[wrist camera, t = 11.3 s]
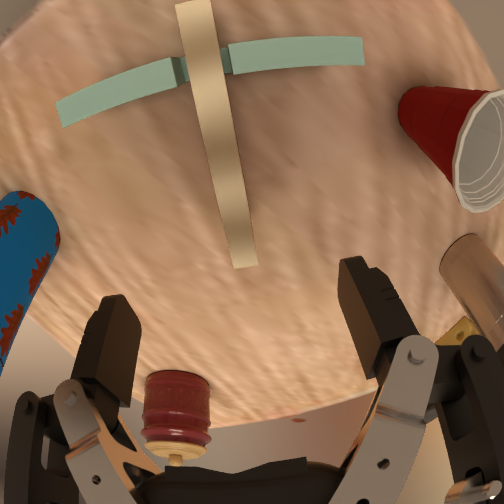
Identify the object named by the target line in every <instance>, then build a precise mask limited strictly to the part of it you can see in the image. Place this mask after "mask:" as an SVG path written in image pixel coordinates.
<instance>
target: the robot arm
mask: <svg viewBox="0 0 504 504" xmlns="http://www.w3.org/2000/svg"><path fill="white" fill-rule="evenodd" d="M440 274H441V276H442V277H443V279H444V280H445V281H446V283H447V284H448V286H449V287H450V289H451V290H452V292H453V293H454V295H455V296H456V298H457V299H458V301H459V302H460V304H461V306H462V307H463V309H464V310H465V312H466V313H467V315H468V317H469V318H470V320H471V322H472V323H473V325H474V327H475V328H476V330H477V332H478V333H479V335H477V334H475V335H470V336H468V337H467V338H465V340H464V341H463V342H462V344H461V345H436V344H434V343H433V342H432V341H431V340H430V339H428V338H426V337H424V336H421V335H420V334H419V332H418V331H417V329H416V327H415V325H414V323H413V321H412V319H411V317H410V315H409V314H408V312H407V310H406V308H405V306H404V304H403V302H402V301H401V299H400V298H399V295H398V293H397V292H396V290H395V289H394V286H393V285H392V283H391V281H390V279H389V278H388V276H387V275H386V274H385V273H383V272H382V271H381V270H380V269H378V268H377V267H375V268H370V269H369V267H368V266H367V264H366V262H365V260H364V259H363V257H362V256H355V257H350V258H344V259H341V260H340V263H339V277H338V299H339V303H340V306H341V309H342V312H343V314H344V317H345V320H346V322H347V325H348V328H349V330H350V333H351V336H352V339H353V342H354V344H355V347H356V350H357V353H358V356H359V359H360V361H361V364H362V367H363V370H364V373H365V376H366V379H367V380H368V379H371V378H375V377H376V379H377V382H378V385H379V386H378V388H377V390H376V393H375V396H374V398H373V401H372V403H371V405H370V408H369V410H368V412H367V414H366V417H365V419H364V421H363V423H362V426H361V428H360V430H359V432H358V434H357V436H356V438H355V440H354V441H353V443H352V445H351V447H350V448H349V450H348V453H347V454H346V456H345V458H344V460H343V462H342V464H341V465H340V467H339V468H338V467H335V466H332V465H329V464H325V463H321V462H312V461H307V459H306V457H301V458H296V459H289V460H283V461H276V462H269V463H266V464H263V465H261V466H258V467H255V468H252V469H249V470H245V471H243V472H239V473H235V474H229V473H224V472H219V471H214V470H209V469H204V468H200V467H181V466H165V472H161V470H160V469H159V468H158V467H157V466H156V465H155V463H154V462H153V461H152V460H150V459H149V458H148V457H147V456H146V455H145V454H144V453H143V451H142V450H141V448H140V447H139V445H138V444H137V442H136V441H135V439H134V438H133V436H132V434H131V433H130V431H129V429H128V428H127V426H126V424H125V423H124V421H123V419H122V417H121V416H120V415H119V414H118V412H119V407H127V408H129V407H130V402H131V395H132V388H133V381H134V374H135V368H136V362H137V356H138V350H139V345H140V339H141V333H142V329H141V324H140V321H139V319H138V317H137V316H136V314H135V312H134V311H133V309H132V308H131V306H130V304H129V303H128V301H127V300H126V298H125V296H124V295H122V294H118V295H111V296H105V297H103V298H102V300H101V303H100V306H99V309H98V311H95V312H94V313H93V315H92V316H91V318H90V319H89V320H88V322H87V325H86V328H85V331H84V335H83V337H82V340H81V344H80V347H79V350H78V353H77V357H76V360H75V364H74V367H73V371H72V374H71V378H70V379H68V380H65V381H63V382H62V383H61V384H60V385H59V386H58V387H57V388H56V390H55V393H54V394H52V395H49V396H46V397H42V398H39V397H38V396H37V395H36V394H35V393H33V392H31V391H27V392H25V393H23V394H22V395H21V396H20V397H19V399H18V400H17V403H16V406H15V411H14V416H13V421H12V427H11V432H10V438H9V446H8V452H7V461H6V471H5V487H4V504H79V490H80V492H81V494H82V496H83V497H84V499H85V501H86V503H87V504H395V503H396V501H397V499H398V497H399V495H400V492H401V491H402V488H403V486H404V484H405V482H406V480H407V477H408V475H409V473H410V470H411V468H412V466H413V463H414V461H415V458H416V456H417V453H418V450H419V448H420V445H421V442H422V439H423V436H424V433H425V428H426V423H425V422H424V415H425V411H426V408H427V405H428V403H434V405H435V409H436V412H437V415H438V418H439V422H440V425H441V429H442V433H443V436H444V440H445V444H446V448H447V452H448V456H449V461H450V465H451V469H452V475H453V480H454V485H453V486H452V487H451V488H450V489H449V491H448V493H447V494H446V497H445V502H444V504H504V266H503V264H502V263H501V262H500V261H499V260H498V258H497V257H496V256H495V255H494V254H493V253H492V251H491V250H490V249H489V248H488V247H487V246H486V245H485V243H484V242H483V241H482V240H481V239H480V238H479V237H478V236H477V235H475V234H469V235H466V236H464V237H462V238H460V239H459V240H458V241H456V242H455V243H454V244H453V245H452V246H451V247H450V248H449V250H448V251H447V253H446V254H445V256H444V258H443V259H442V262H441V265H440ZM43 436H45V437H47V438H48V439H50V444H49V453H48V465H47V469H46V470H45V469H44V468H43V466H42V464H41V452H42V444H43Z"/></svg>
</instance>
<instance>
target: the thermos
mask: <svg viewBox="0 0 504 504" xmlns="http://www.w3.org/2000/svg"><path fill="white" fill-rule="evenodd" d="M59 243H60V234H59V227H58V225H57V223H56V221H55V218H54V216H53V214H52V213H51V211H50V210H49V209H48V208H47V206H46V205H45V204H44V203H43V202H42V201H41V200H39V199H38V198H37V197H35V196H34V195H33V194H30V193H26V192H23V191H16V192H11V193H9V194H8V195H7V196H6V197H4V198H3V199H2V200H1V201H0V376H1V373H2V370H3V367H4V364H5V362H6V359H7V356H8V354H9V351H10V349H11V346H12V344H13V341H14V339H15V336H16V334H17V332H18V329H19V327H20V325H21V322H22V320H23V318H24V316H25V314H26V312H27V310H28V308H29V306H30V303H31V301H32V299H33V297H34V295H35V294H36V292H37V290H38V288H39V286H40V284H41V282H42V280H43V278H44V277H45V275H46V273H47V271H48V269H49V267H50V265H51V263H52V261H53V259H54V257H55V255H56V253H57V251H58V248H59Z"/></svg>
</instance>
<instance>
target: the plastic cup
mask: <svg viewBox="0 0 504 504" xmlns="http://www.w3.org/2000/svg"><path fill="white" fill-rule="evenodd" d="M398 116H399V120H400V124H401V126H402V127H403V129H404V130H405V132H406V133H407V135H408V136H409V137H410V138H411V139H412V140H414V141H415V142H416V143H417V144H418V146H419V148H420V149H421V150H422V151H423V152H424V153H425V154H426V155H427V156H428V157H429V158H430V159H431V160H432V161H433V162H434V163H435V165H436V166H437V167H438V168H439V169H440V170H441V171H442V172H443V173H444V175H445V176H446V178H447V179H448V181H449V182H450V183H451V184H452V187H453V188H454V190H455V192H456V195H457V197H458V200H459V202H460V204H461V206H462V207H464V208H465V209H467V210H469V211H470V212H472V213H479V212H486V211H488V210H490V209H491V208H493V207H494V206H496V205H497V204H499V203H500V202H501V201H502V200H503V199H504V89H497V90H494V91H486V90H484V91H481V90H468V89H459V88H450V87H438V86H436V87H422V86H421V87H416V88H413V89H410V90H408V91H407V92H406V93H405V94H404V95H403V97H402V99H401V101H400V103H399V109H398Z"/></svg>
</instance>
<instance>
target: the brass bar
mask: <svg viewBox="0 0 504 504" xmlns="http://www.w3.org/2000/svg"><path fill="white" fill-rule="evenodd" d="M175 8H176V13H177V18H178V23H179V28H180V33H181V38H182V43H183V48H184V53H185V58H186V63H187V68H188V73H189V77H190V82H191V87H192V91H193V96H194V101H195V105H196V110H197V115H198V119H199V124H200V128H201V133H202V137H203V141H204V146H205V150H206V155H207V159H208V163H209V168H210V172H211V176H212V180H213V185H214V189H215V193H216V197H217V202H218V206H219V210H220V214H221V218H222V222H223V226H224V230H225V235H226V239H227V243H228V247H229V251H230V255H231V259H232V263H233V267H234V269H238V268H244V267H249V266H255V265H258V259H257V253H256V247H255V241H254V235H253V229H252V223H251V217H250V212H249V206H248V200H247V195H246V189H245V184H244V178H243V172H242V167H241V161H240V156H239V150H238V145H237V139H236V134H235V128H234V123H233V117H232V112H231V106H230V101H229V95H228V90H227V84H226V79H225V75H224V70H223V64H222V59H221V54H220V48H219V43H218V36H217V30H216V25H215V20H214V15H213V10H212V6H211V2H210V0H193V1H189V2H184V3H180V4H176V5H175Z"/></svg>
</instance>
